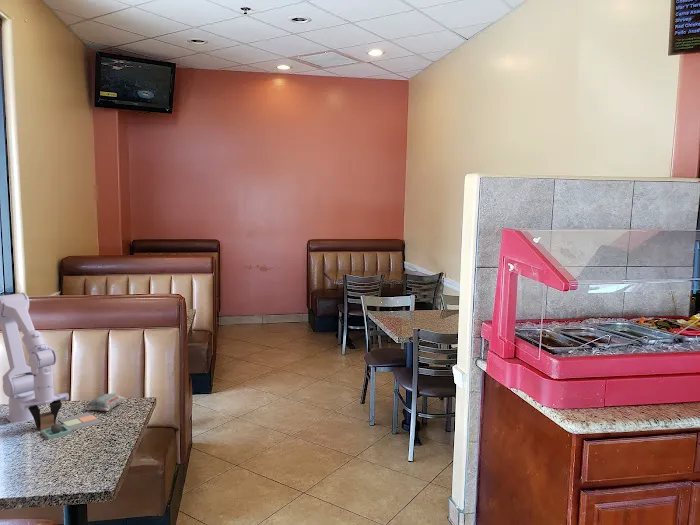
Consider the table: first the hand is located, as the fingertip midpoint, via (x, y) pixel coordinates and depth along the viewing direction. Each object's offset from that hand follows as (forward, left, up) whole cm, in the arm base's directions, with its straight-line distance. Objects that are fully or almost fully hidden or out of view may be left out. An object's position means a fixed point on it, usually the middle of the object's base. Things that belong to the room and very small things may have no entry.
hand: (45, 425), depth 185 cm
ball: (+7, +1, -1) cm, 8 cm away
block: (0, 0, -1) cm, 1 cm away
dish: (+7, +1, -1) cm, 8 cm away
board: (+2, +10, -1) cm, 10 cm away
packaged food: (-5, +22, -2) cm, 23 cm away
